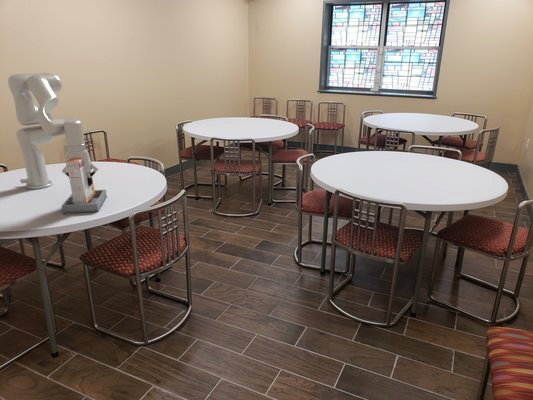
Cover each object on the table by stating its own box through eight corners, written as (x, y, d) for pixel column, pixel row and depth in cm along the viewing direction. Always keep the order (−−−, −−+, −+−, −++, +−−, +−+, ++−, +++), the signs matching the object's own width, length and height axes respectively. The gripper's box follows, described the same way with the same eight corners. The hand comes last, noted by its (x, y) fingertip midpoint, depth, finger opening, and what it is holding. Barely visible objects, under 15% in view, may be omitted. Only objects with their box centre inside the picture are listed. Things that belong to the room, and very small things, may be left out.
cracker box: (83, 194, 199) (76, 153, 191) (96, 194, 199) (89, 152, 192) (73, 205, 186) (65, 160, 178) (86, 205, 186) (79, 160, 179)
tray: (63, 214, 183) (61, 205, 181) (75, 198, 201) (73, 191, 200) (98, 211, 185) (97, 203, 184) (106, 197, 204) (105, 189, 202)
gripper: (53, 150, 179) (60, 189, 185) (94, 149, 182) (100, 187, 188) (58, 146, 186) (65, 184, 192) (98, 145, 188) (103, 182, 195)
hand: (82, 185), depth 190 cm, fingers closed on cracker box, 6 cm apart
